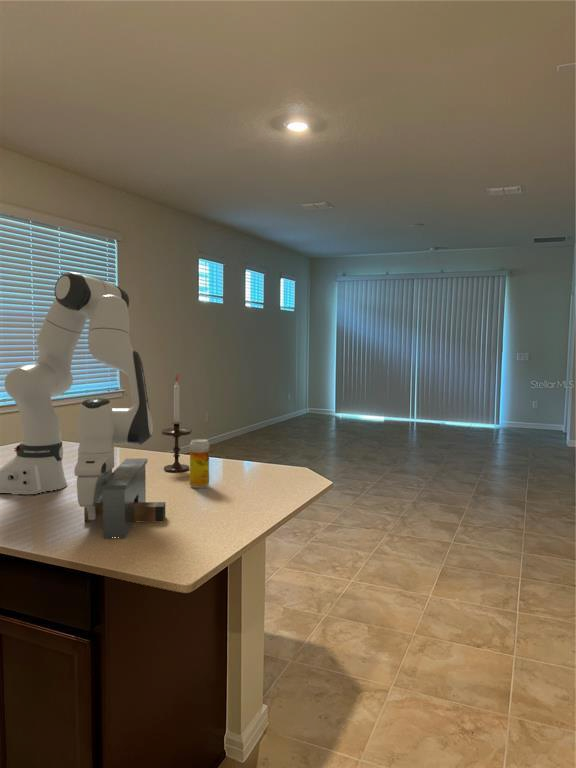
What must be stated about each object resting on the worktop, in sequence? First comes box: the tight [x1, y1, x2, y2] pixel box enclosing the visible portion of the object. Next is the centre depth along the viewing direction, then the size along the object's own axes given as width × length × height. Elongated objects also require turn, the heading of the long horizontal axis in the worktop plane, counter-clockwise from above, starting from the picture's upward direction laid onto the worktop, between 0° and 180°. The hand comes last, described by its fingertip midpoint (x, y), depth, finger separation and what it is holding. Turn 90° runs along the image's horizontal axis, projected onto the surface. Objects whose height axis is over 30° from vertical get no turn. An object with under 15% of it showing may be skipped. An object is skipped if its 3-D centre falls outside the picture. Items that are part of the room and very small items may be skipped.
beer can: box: [189, 438, 210, 489], centre depth 177 cm, size 6×6×15 cm
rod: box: [83, 501, 166, 523], centre depth 144 cm, size 20×4×4 cm, turn 95°
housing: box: [100, 458, 148, 539], centre depth 143 cm, size 6×29×13 cm, turn 5°
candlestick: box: [160, 373, 193, 474], centre depth 198 cm, size 11×11×35 cm
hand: (97, 513), depth 143 cm, fingers open, 7 cm apart
